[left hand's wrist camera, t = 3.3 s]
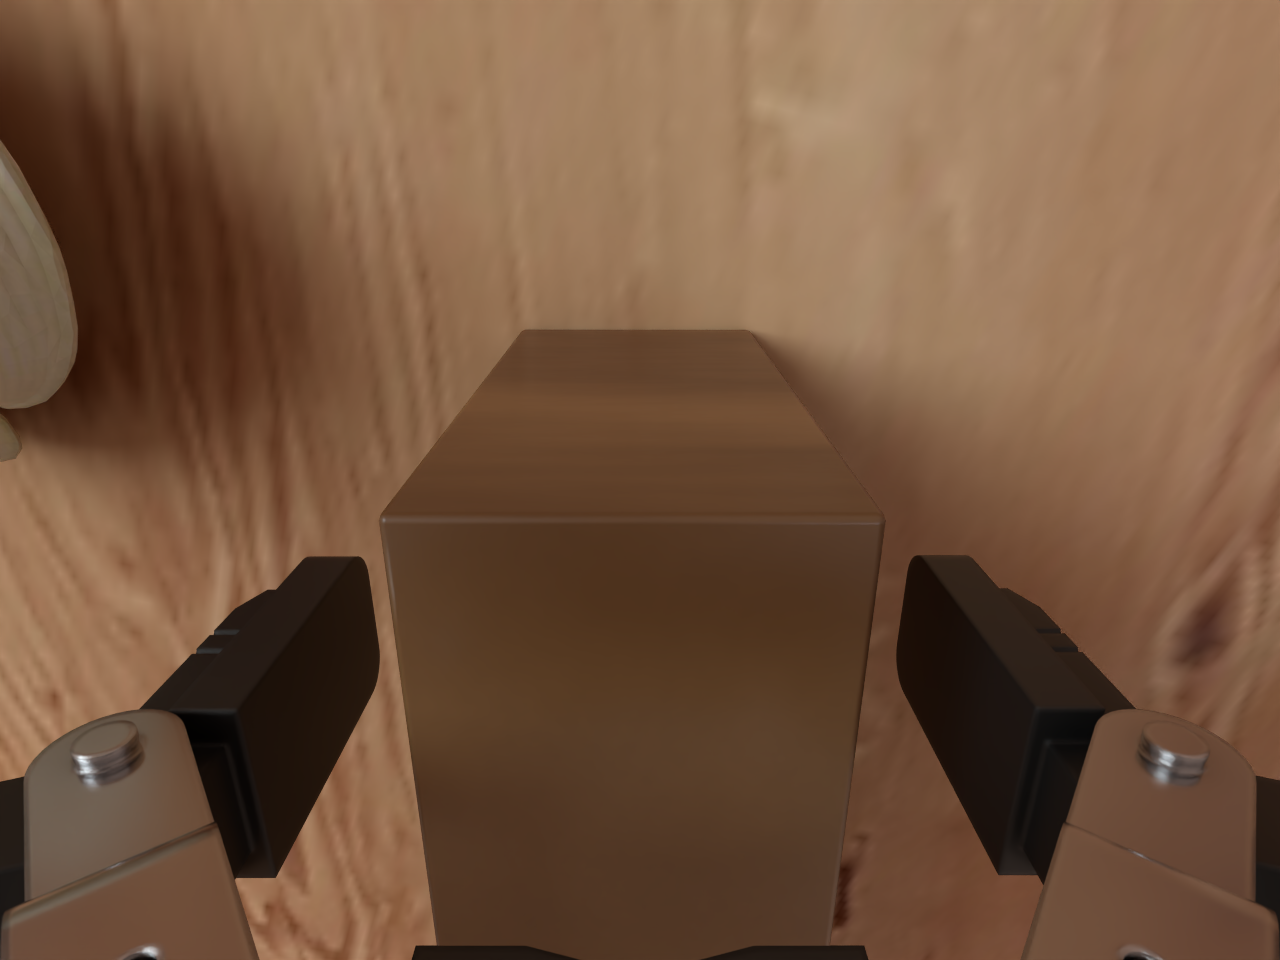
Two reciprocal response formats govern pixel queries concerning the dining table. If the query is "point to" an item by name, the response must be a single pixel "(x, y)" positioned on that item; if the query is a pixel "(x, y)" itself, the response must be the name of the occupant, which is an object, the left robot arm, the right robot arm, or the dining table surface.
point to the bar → (633, 650)
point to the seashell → (30, 304)
